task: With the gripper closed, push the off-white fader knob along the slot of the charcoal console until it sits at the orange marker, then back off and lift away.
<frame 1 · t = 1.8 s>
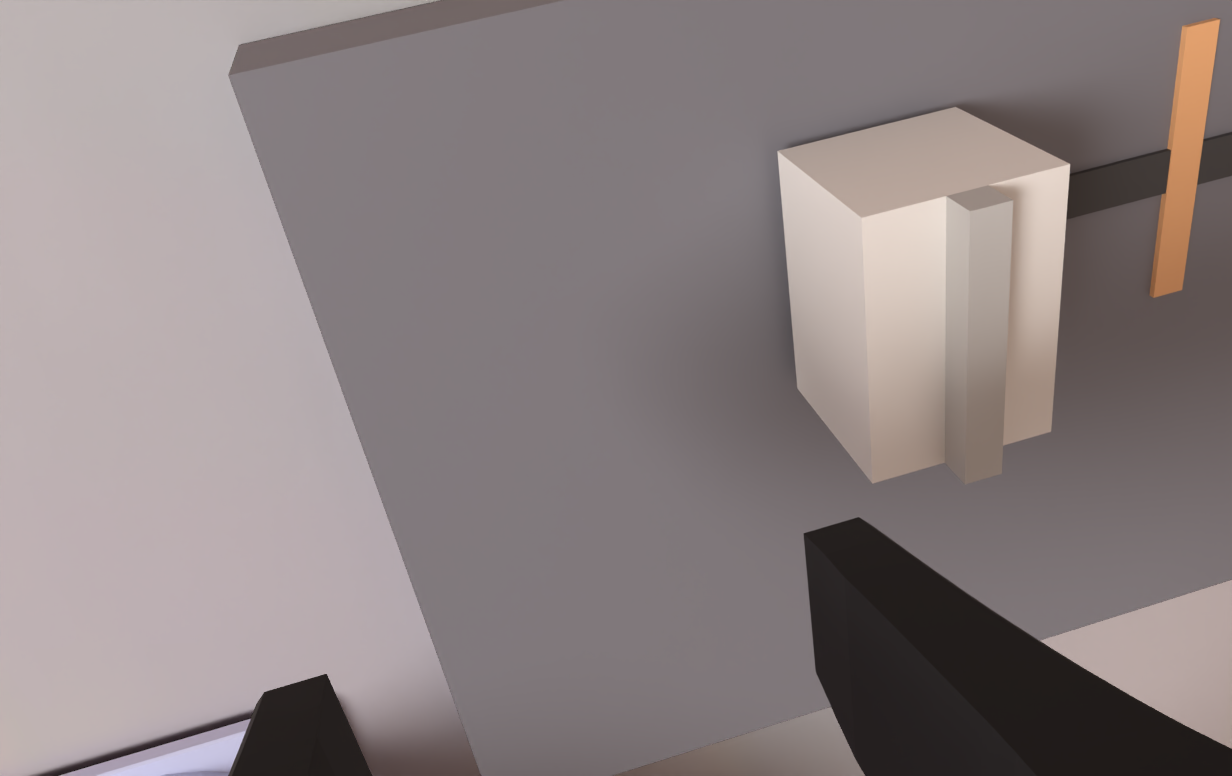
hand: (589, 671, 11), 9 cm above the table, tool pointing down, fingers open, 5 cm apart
fader knob: (924, 299, 16), point 4 cm above the table, slide at 0.0 cm
console: (826, 347, 21), on the table
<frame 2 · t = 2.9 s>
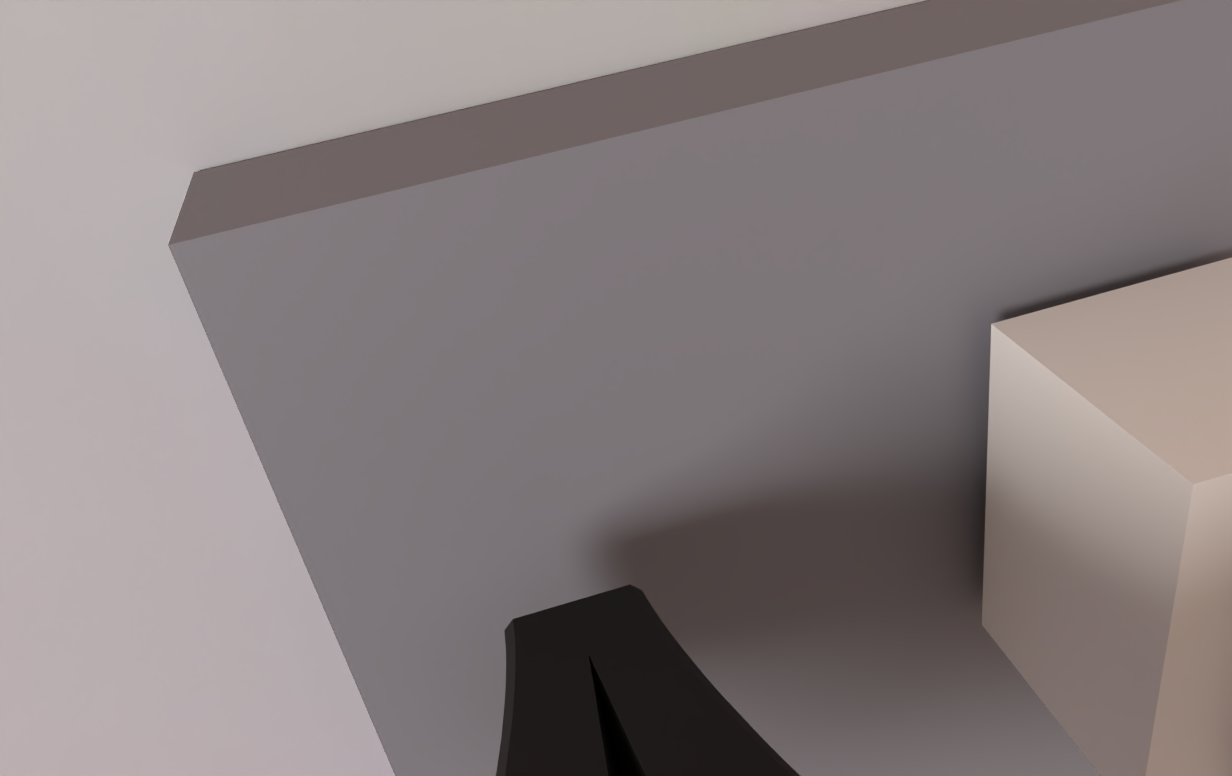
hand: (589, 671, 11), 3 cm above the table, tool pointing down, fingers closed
fader knob: (1213, 547, 11), point 4 cm above the table, slide at 0.0 cm
console: (990, 531, 16), on the table
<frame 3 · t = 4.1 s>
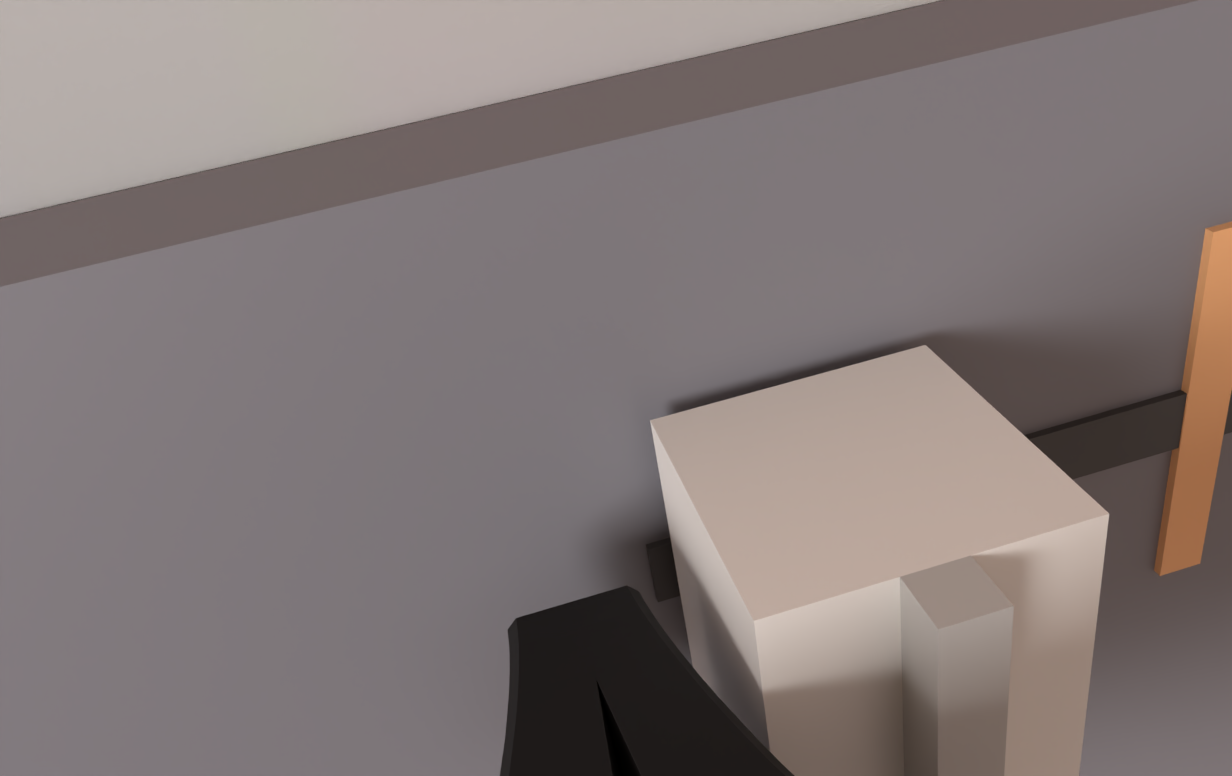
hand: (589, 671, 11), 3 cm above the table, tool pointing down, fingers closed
fader knob: (874, 656, 10), point 4 cm above the table, slide at 0.7 cm, touching gripper
console: (709, 618, 15), on the table
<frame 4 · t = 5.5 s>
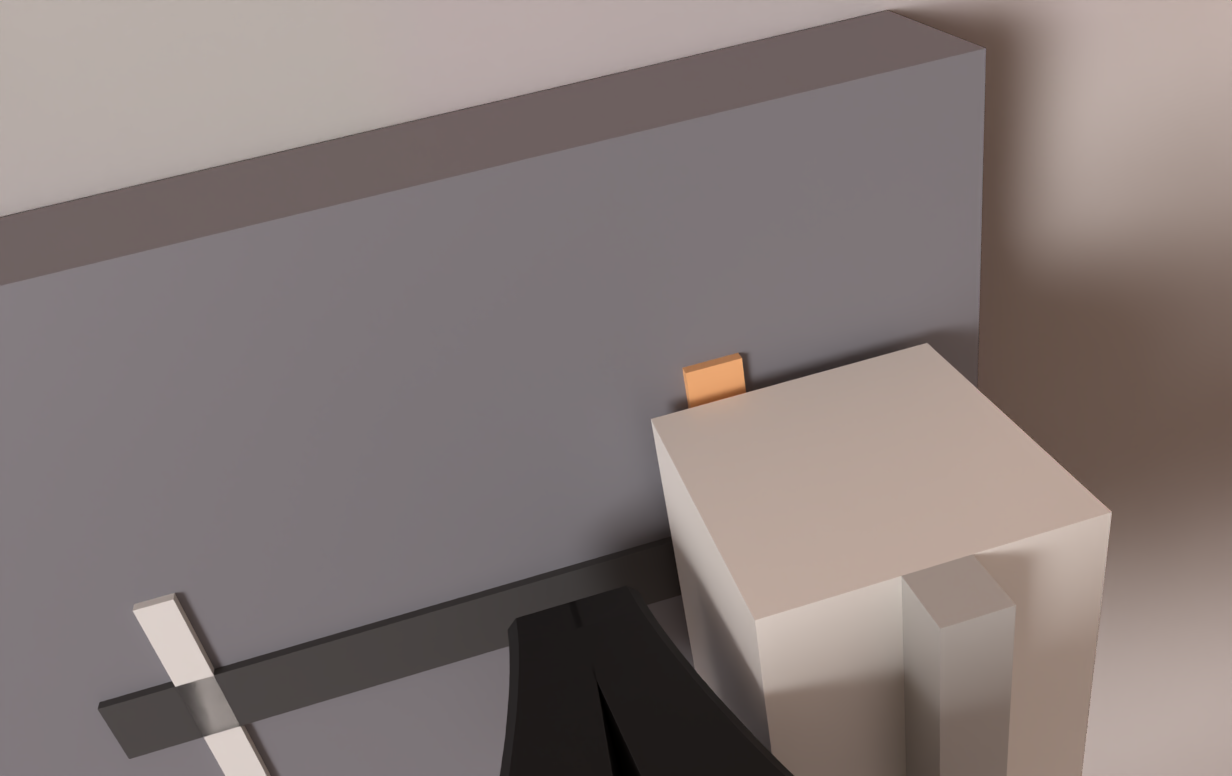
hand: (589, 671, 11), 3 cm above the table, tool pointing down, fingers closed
fader knob: (876, 655, 10), point 4 cm above the table, slide at 6.7 cm, touching gripper
console: (302, 740, 14), on the table
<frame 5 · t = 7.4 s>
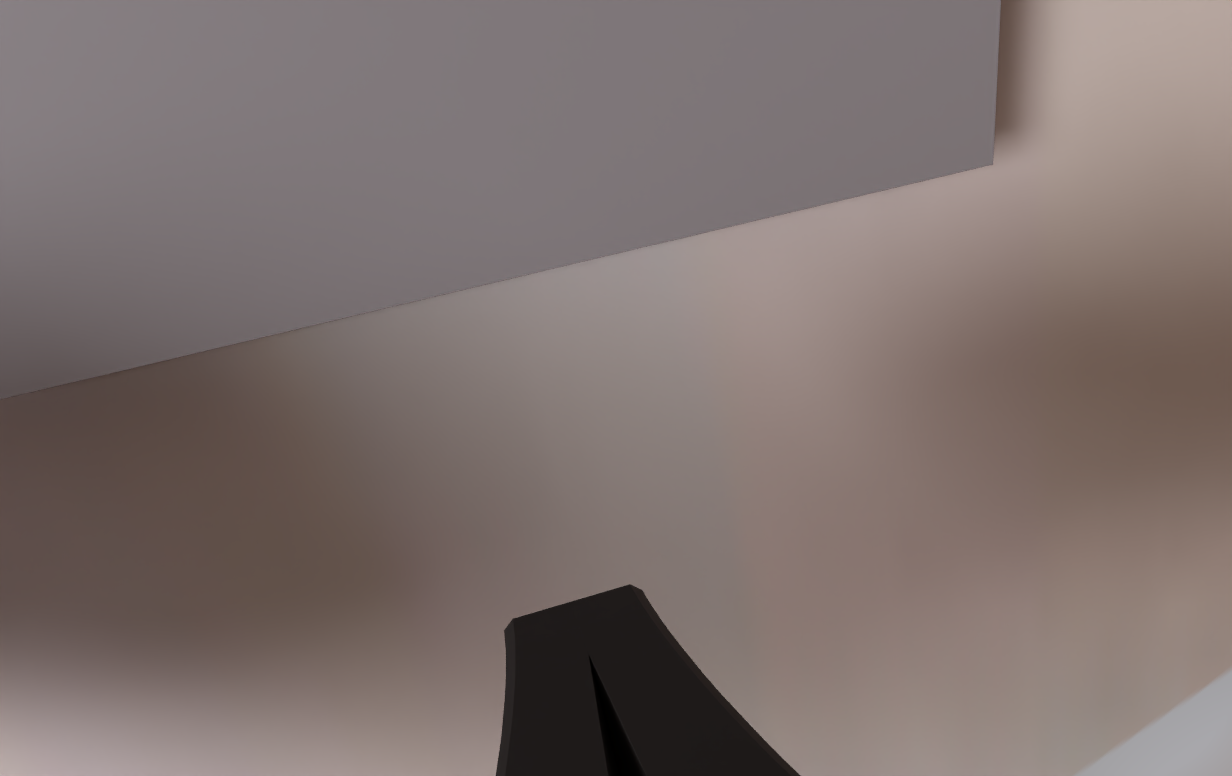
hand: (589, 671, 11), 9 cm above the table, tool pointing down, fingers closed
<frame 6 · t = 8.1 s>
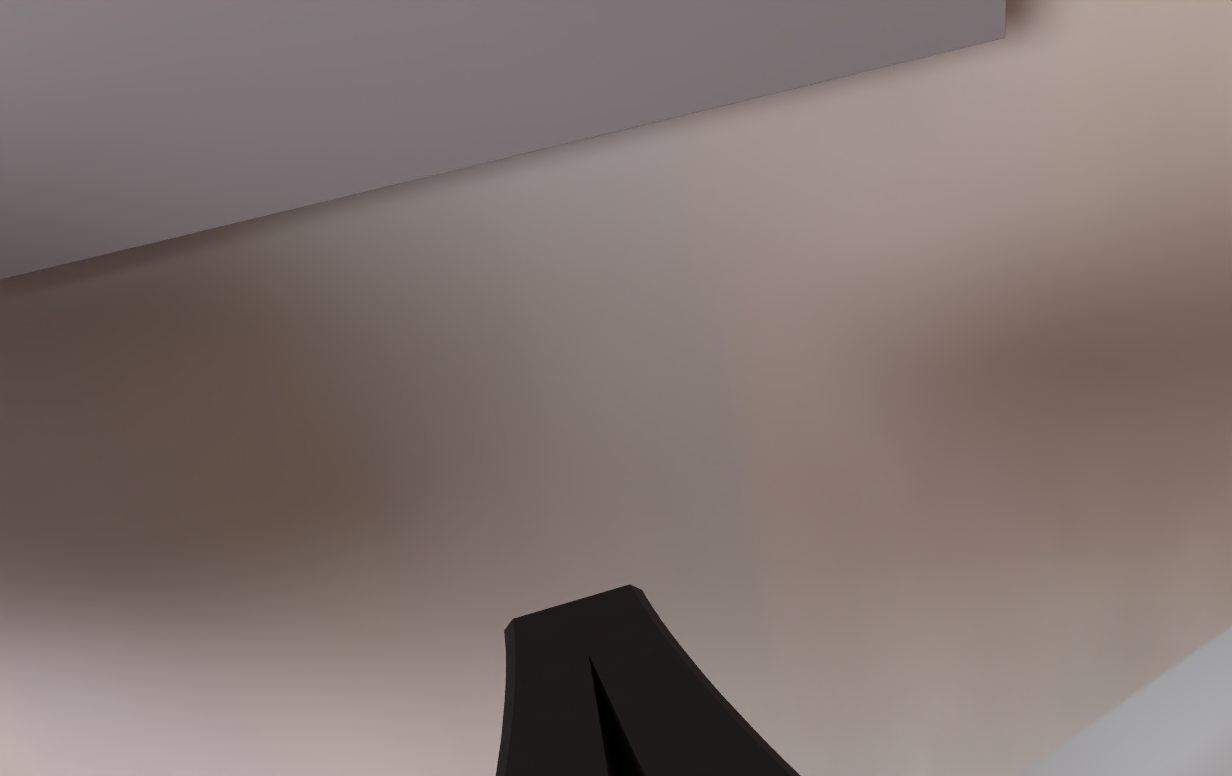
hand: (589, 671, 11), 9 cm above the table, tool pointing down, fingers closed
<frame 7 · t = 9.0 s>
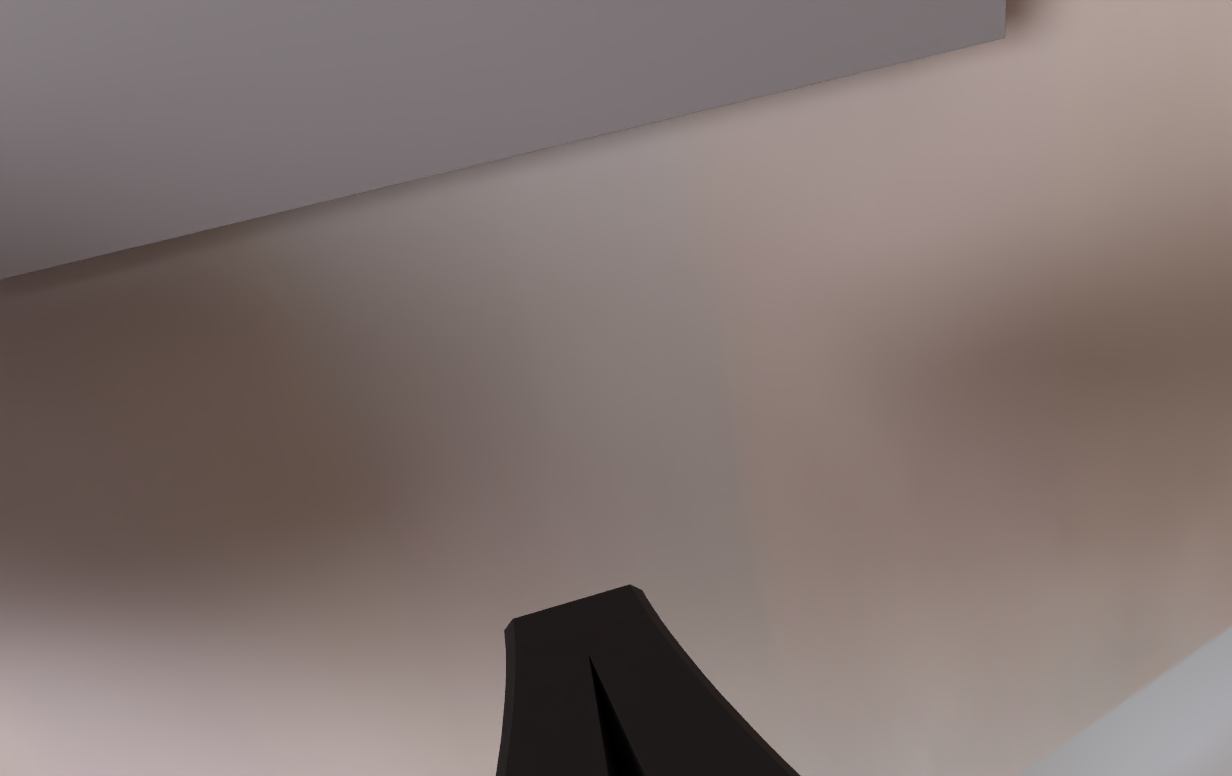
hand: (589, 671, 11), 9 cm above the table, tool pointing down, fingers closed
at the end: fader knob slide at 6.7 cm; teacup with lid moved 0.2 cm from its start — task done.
